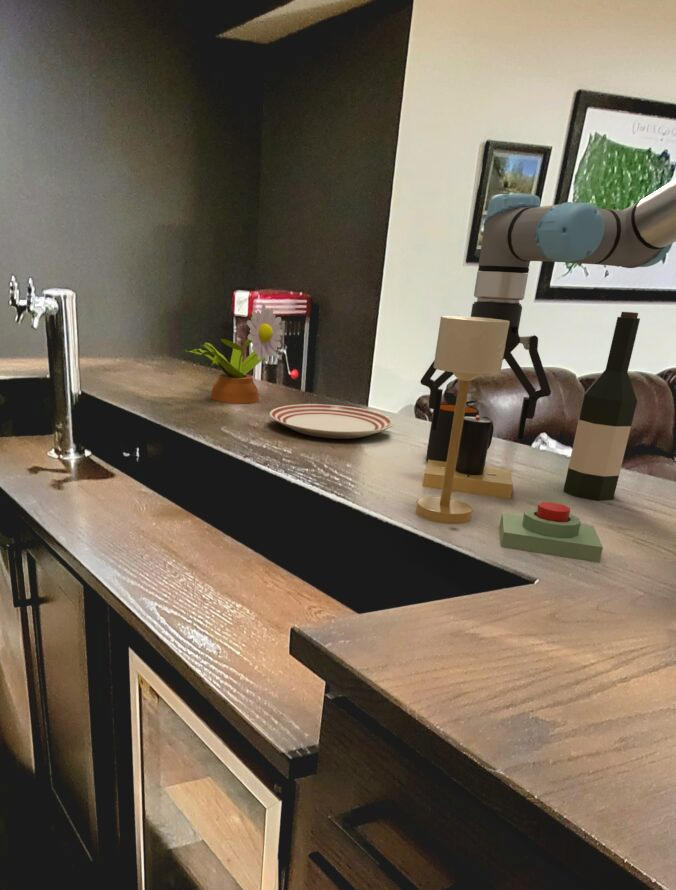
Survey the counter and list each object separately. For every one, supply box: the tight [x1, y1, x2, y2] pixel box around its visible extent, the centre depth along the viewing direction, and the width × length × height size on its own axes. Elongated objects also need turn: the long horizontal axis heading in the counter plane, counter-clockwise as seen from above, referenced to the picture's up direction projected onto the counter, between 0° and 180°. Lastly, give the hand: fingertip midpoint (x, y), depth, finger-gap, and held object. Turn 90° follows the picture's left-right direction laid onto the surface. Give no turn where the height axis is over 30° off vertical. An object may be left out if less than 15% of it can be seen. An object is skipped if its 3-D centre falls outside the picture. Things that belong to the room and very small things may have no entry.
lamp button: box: [536, 501, 571, 522], centre depth 97 cm, size 4×4×2 cm
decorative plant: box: [184, 303, 284, 404], centre depth 190 cm, size 27×24×25 cm
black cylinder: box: [455, 414, 494, 475], centre depth 122 cm, size 5×5×9 cm
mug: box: [425, 403, 495, 462], centre depth 138 cm, size 8×12×10 cm
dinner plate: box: [268, 403, 395, 440], centre depth 161 cm, size 27×27×3 cm
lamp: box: [415, 315, 510, 525], centre depth 103 cm, size 9×9×28 cm
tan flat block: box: [422, 460, 514, 500], centre depth 124 cm, size 14×10×3 cm
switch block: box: [498, 507, 604, 563], centre depth 98 cm, size 12×9×4 cm
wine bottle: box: [563, 311, 641, 501], centre depth 119 cm, size 8×8×30 cm
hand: (476, 433), depth 121 cm, fingers open, 13 cm apart
